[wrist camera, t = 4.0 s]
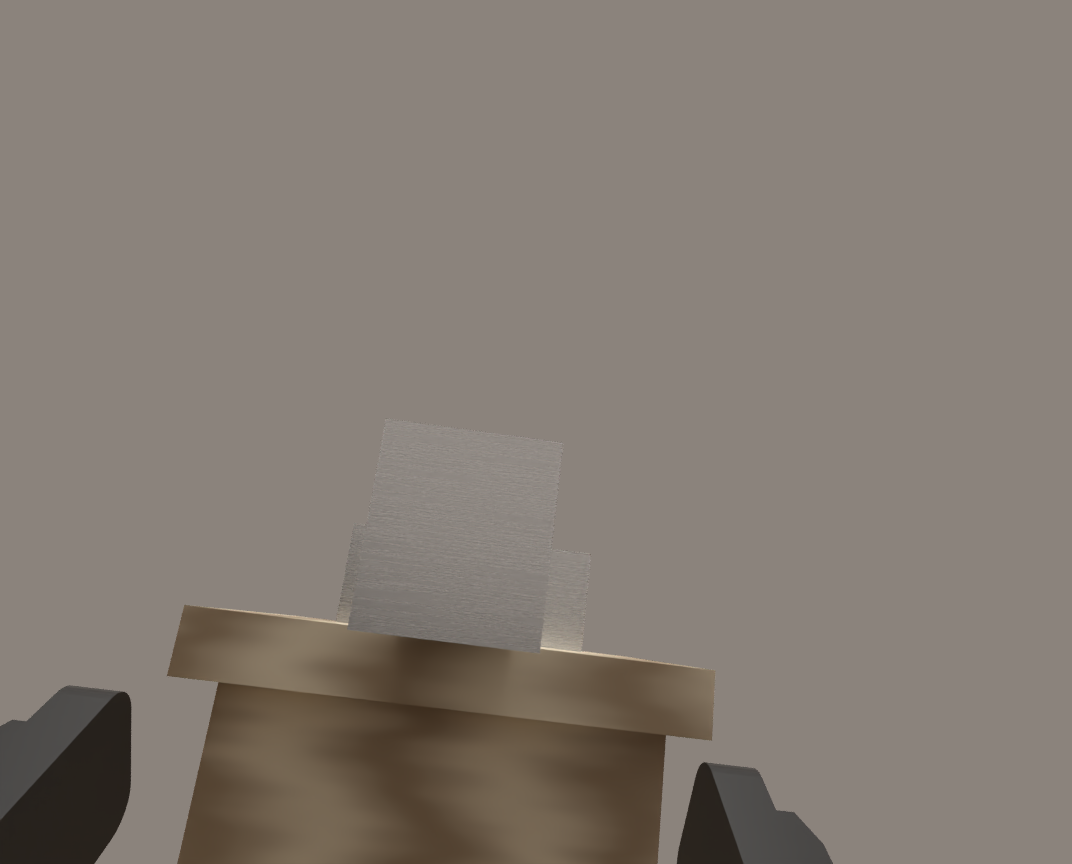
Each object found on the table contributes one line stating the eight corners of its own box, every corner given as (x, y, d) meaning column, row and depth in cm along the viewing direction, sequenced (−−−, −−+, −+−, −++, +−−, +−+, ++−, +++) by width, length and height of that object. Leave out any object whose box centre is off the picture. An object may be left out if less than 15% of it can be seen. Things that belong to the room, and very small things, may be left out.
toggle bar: (714, 675, 13) (724, 464, 15) (163, 607, 13) (217, 395, 14) (571, 650, 33) (580, 560, 34) (347, 622, 32) (364, 532, 33)
